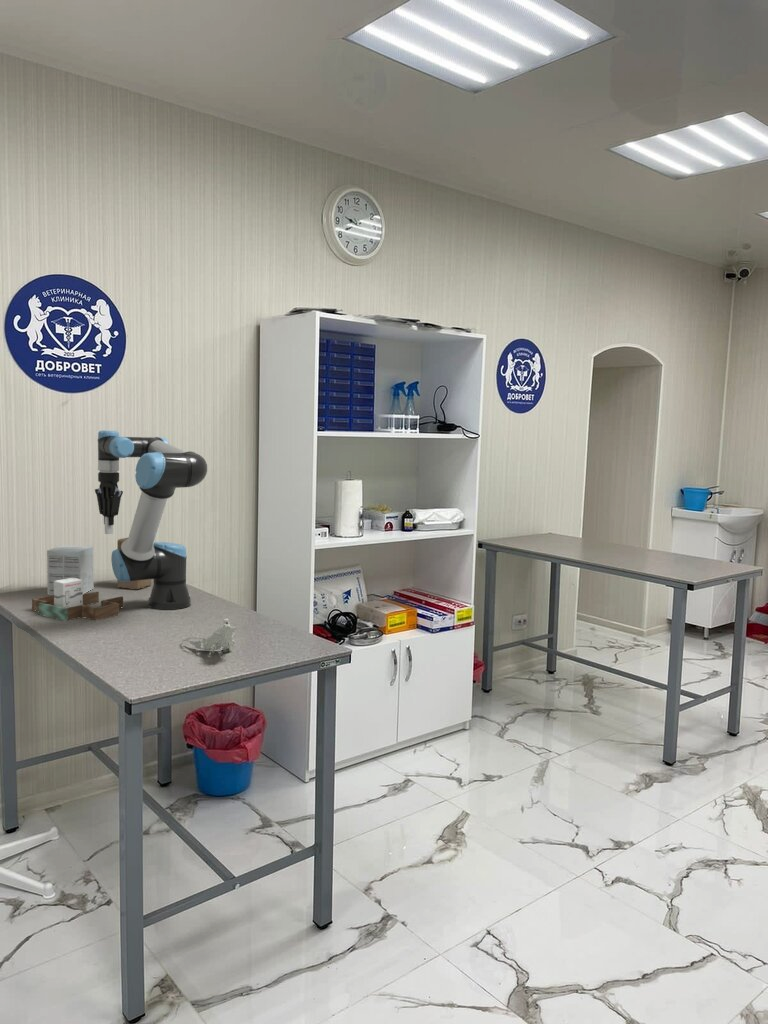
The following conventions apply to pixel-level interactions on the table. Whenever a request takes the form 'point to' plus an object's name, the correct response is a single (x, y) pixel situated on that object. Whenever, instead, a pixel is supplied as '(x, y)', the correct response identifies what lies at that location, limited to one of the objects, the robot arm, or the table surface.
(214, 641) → the bird figurine
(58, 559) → the supplement box
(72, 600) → the ink box
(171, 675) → the table surface
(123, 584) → the block
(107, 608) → the brown wooden tray
